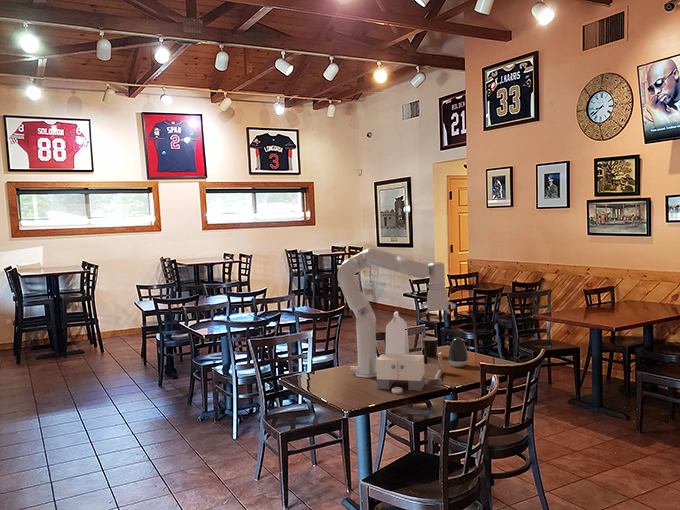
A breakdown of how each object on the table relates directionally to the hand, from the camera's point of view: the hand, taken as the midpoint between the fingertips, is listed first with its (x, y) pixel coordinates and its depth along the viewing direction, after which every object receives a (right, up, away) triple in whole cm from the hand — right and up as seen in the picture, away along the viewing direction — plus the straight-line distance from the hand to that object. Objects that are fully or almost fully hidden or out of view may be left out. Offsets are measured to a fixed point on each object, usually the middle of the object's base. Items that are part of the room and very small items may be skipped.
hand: (438, 321), depth 265 cm
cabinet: (-21, -28, -19) cm, 39 cm away
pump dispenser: (+14, -26, +16) cm, 33 cm away
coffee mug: (+2, -25, +40) cm, 48 cm away
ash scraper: (-1, -27, -7) cm, 27 cm away
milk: (-16, -26, +43) cm, 52 cm away
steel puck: (-24, -28, -28) cm, 46 cm away
